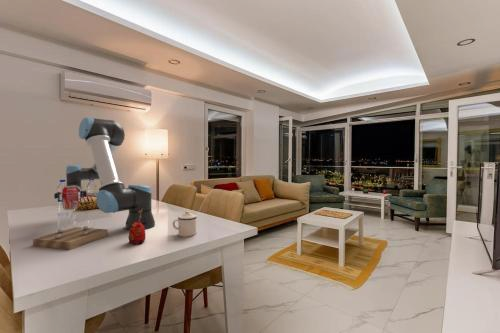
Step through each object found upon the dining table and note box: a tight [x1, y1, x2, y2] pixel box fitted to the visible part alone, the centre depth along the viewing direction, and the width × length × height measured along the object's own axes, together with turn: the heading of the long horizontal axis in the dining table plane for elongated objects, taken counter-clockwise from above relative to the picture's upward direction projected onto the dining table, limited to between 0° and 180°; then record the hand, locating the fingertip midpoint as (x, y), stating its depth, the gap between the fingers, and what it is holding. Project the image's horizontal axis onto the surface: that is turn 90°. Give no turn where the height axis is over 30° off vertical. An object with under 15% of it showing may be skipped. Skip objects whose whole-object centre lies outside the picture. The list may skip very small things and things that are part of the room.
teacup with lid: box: [172, 210, 197, 238], centre depth 127 cm, size 12×9×12 cm
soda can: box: [61, 185, 80, 211], centre depth 134 cm, size 7×7×12 cm
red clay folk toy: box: [128, 210, 147, 245], centre depth 115 cm, size 8×7×15 cm
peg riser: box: [32, 225, 109, 250], centre depth 117 cm, size 20×20×4 cm
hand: (69, 196), depth 130 cm, fingers closed on soda can, 7 cm apart
